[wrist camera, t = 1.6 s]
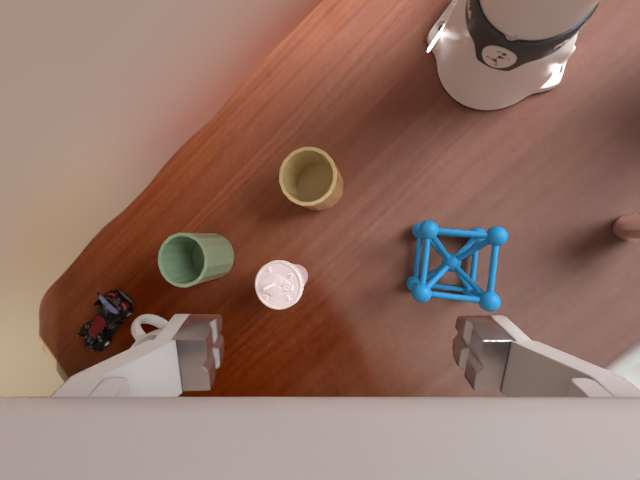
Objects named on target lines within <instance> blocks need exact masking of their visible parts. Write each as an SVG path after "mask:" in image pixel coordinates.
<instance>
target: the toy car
mask: <svg viewBox="0 0 640 480" xmlns="http://www.w3.org/2000/svg"><path fill="white" fill-rule="evenodd" d="M97 293H98V297H99V300H98V301H96V302H95V304H94V306H96V305H100V307H99V311H98V314H97V316H96V318H95V319H93V320H92V321H90V322H88V323H86V324H84V325H83V327H82V328H81V331H80V332H79V333H78V335H77V337H80V336H83V338H84V346H85V347H89V348H92V349H91V351H94V350H97V351H103V350H105V348H106V347H107V346H108V345H109V344H110V343H111V339H110V337H111V336H112V335H113V334H114V333H115V332H116V330H117V329H118V328H119V327H120V326H121V324H122V323H123V322H121V321H125V319H126V317H128V316H130V315H131V314H132V312H133V310H132V309H133V306H134V305H135V303H133V302H132V301H131V299H130V298H129V297H128V296H127V295H126V294H124V293H123V292H122V291H120V290H119V288H118V289H117V290H115V291H109V292H108V293H106V294H105V295H103V296H102V295H101V294H100V292H97ZM110 303H111V305H110ZM101 347H102V348H101Z"/></svg>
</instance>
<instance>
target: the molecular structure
mask: <svg viewBox="0 0 640 480" xmlns="http://www.w3.org/2000/svg"><path fill="white" fill-rule="evenodd" d="M412 233H413V235H414V236H415V237H416V238H417V243H416V252H415V262H414V271H413V276H411V277H409V278H408V280H407V287H408V289H409V290H411V291H412V296H413V298H414V299H415V300H416V301H417V302H421V303H424V302H427V301H428V300H429V299H430V298H431V297H434V298H442V299H450V300H458V301H466V302H474V303H479V305H480V307H481V308H482V309H484V310H486V311H495V310H497V309H498V308H499V306H500V303H501V302H500V298H499V296H498V295H497V294H496V293H494V286H495V278H496V269H497V260H498V251H499V246H500V245H503V244H504V243H505V242H506V241H507V239H508V233H507V231H506V230H505V229H504V228H502V227H500V226H494V227H491V228H490V229H488V231H487V232H485V231H484V230H483V229H481V228H473V229H472V230H470V231H469V230H457V229H446V228H438V226H437V224H436V223H435V222H433V221H431V220H427V221H424V222H422V223H417V224H415V225H414V226H413V228H412ZM437 235H445V236H455V237H466V238H469V241H468V242H467V243H466V244H465V245H464V246H463V247H462V248H461V249H460V250H459V251H458V252H457V253H456V254H449V253H448V252H447V250H446V249H445V248H444V246H443V245H442V243H441V242H440V240H439V239H438V237H437ZM422 238H424V246H423V255H422V265H421V274H420V277H418V274H419V265H420V255H421V246H422ZM489 244H491V245H492V250H491V259H490V268H489V277H488V286H487V291H486V292H484V291H483V290H482V289H481V288H480V287H479V286H478V285H477V284H476V283H475V278H476V269H477V260H478V251H479V250H480V249H482V248H483V247H485V246H487V245H489ZM430 245H431V246H432V247H433V248H434V249H435V250H436V251H437V252H438V253H439V254H440V255H441V256H442V257H443V259H442V265H441V266H439V267H437V268H435V269H434V270H432V271H430V272H429V273H427V268H428V259H429V249H430ZM472 245H473V247H471V246H472ZM470 247H471V248H470ZM471 254H472V262H471V271H470V277H469V276H468V275H467V274H466V273H465V272H464V271H463V270H462V269H461V268H460V266H461V260H462V259H464V258H466V257H468V256H469V255H471ZM447 271H454V272H455V273H456V275H457V276H458V277H459V279H460V280H461V282H462V283H463V284H464V286H463V287H461V286H452V285H444V284H435V283H436V282H437V281H438V280H439V279H440V278H441V277H442V276H443V275H444V274H445V273H446V272H447ZM431 277H432V278H431ZM429 278H431V279H430V280H429V281H428V282H426V280H427V279H429ZM430 288H434V289H442V290H450V291H459V292H463V294H464V295H459V294H451V293H443V292H435V291H431V289H430Z"/></svg>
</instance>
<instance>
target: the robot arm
mask: <svg viewBox="0 0 640 480" xmlns="http://www.w3.org/2000/svg"><path fill="white" fill-rule="evenodd" d="M599 2H600V0H452V1H451V3H450V4H449V5H448V7H447V8H446V9H445V11H444V12H443V13H442V15H441V16H440V18H439V19H438V20H437V22H436V23H435V24H434V26H433V27H432V29H431V30H430V32H429V34H428V36H427V43H428V46H429V47H428V48H427V52H428V53H429V51H430V50H431V51H432V52H433V54H434V55H435V57H436V62H437V69H438V74H439V78H440V80H441V83H442V85H443V87H444V88H445V90H446V91H447V92H448V93H449V95H450V96H451V97H453V98H454V99H455V100H456V101H458V102H459V103H461V104H463V105H465V106H467V107H470V108H474V109H479V110H496V109H501V108H505V107H508V106H511V105H513V104H515V103H517V102H519V101H520V100H522V99H524V98H525V97H527V96H529V95H531V94H534V93H540V92H545V91H549V90H551V89H553V88H555V87H556V86H557V85H558V84H559V83H560V81H561V79H562V76H563V72H564V69H565V66H566V62H567V59H568V58H569V57H570V56H571V55H572V54H573V52H574V51H575V49H576V47H575V45H574V44H575V42H576V39H577V35H578V32H579V31H580V30H581V29H582V27H583V26H584V25H585V24H586V23H587V21H588V19H589V18H590V17H591V15H592V14H593V13H594V11H595V10H596V8H597V6H598V4H599ZM440 28H441V30H440V31H439V29H440ZM222 328H223V322H222V317H221V315H209V314H175V315H174V316H173V317H172V318H171V319H170V320H169V322H168V323H167V324H166V325H165V327H164V328H163V329H162V330H161V331H160V333H159V334H158V335H157V336H156V338H155V339H154V340H147V341H145V342H143V343H141V344H139V345H137V346H135V347H132V348H130V349H128V350H126V351H124V352H122V353H120V354H117V355H115V356H113V357H111V358H109V359H107V360H105V361H102V362H100V363H98V364H96V365H94V366H92V367H90V368H87V369H85V370H83V371H81V372H79V373H77V374H75V375H73V376H71V377H70V378H69V379H68V380H67V381H66V382H65V383H64V384H63V385H62V386H61V387H60V388H59V389H58V390H57V391H55V392H54V393H53V395H51V396H50V397H0V480H640V389H639V388H637V387H636V386H634V385H633V384H632V383H631V382H629V381H628V380H627V379H626V378H624V377H622V376H620V375H617V374H615V373H613V372H610V371H608V370H605V369H603V368H601V367H598V366H596V365H593V364H591V363H589V362H586V361H584V360H581V359H579V358H577V357H574V356H572V355H569V354H567V353H565V352H562V351H560V350H557V349H555V348H553V347H550V346H548V345H545V344H543V343H541V342H538V341H532V340H531V339H530V338H529V337H528V336H526V335H525V334H524V333H523V332H522V331H521V330H520V329H519V328H518V327H517V326H516V325H514V324H513V323H512V322H511V321H510V320H509V319H508V318H507V317H506V316H503V315H494V316H459V317H458V318H457V321H456V326H455V328H456V329H457V331H458V335H457V336H456V337H455V338H454V339H453V356H454V359H455V361H456V363H457V365H458V366H459V367H460V368H462V369H463V370H465V377H466V379H467V381H468V382H469V384H470V385H471V387H472V388H473V390H474V391H501V393H502V394H503V395H505V396H506V397H178V396H179V395H180V394H181V393H182V391H205V390H210V389H211V387H212V384H213V382H214V380H215V377H216V369H217V368H218V367H220V365H221V363H222V360H223V355H224V338H223V336H222V335H221V334H220V332H221V330H222Z"/></svg>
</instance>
